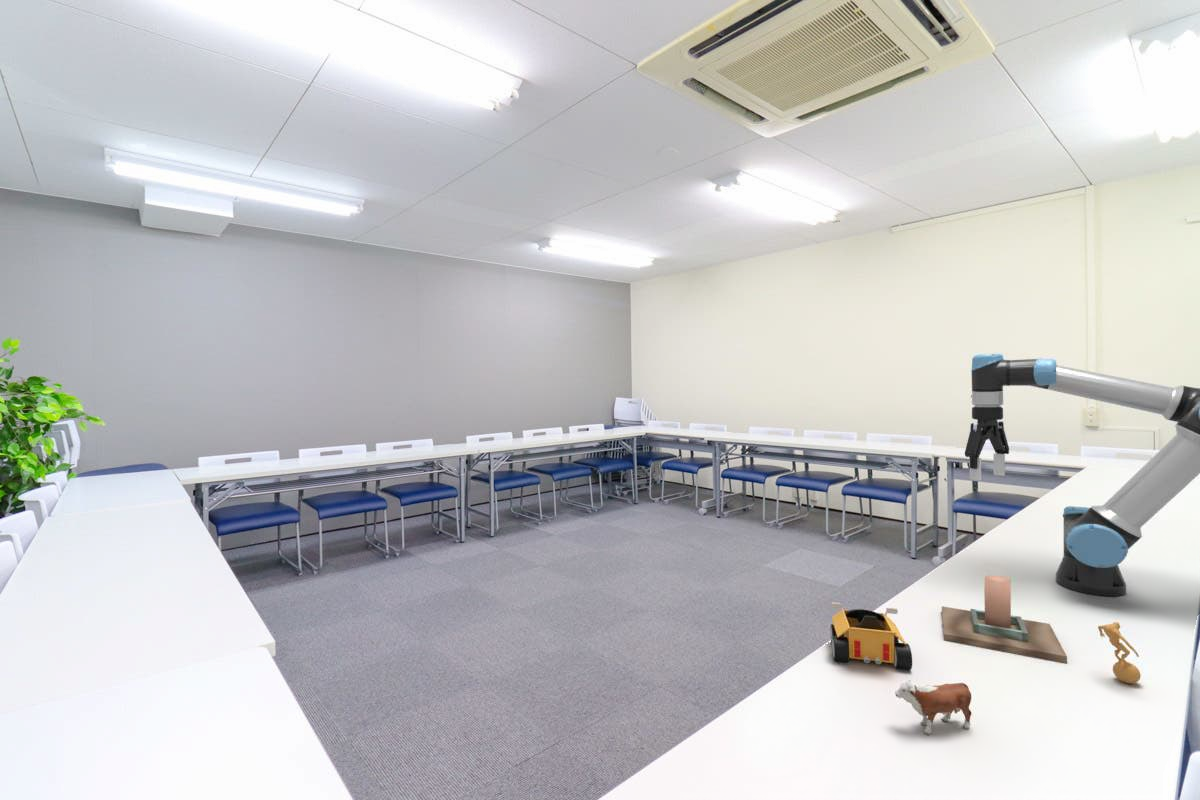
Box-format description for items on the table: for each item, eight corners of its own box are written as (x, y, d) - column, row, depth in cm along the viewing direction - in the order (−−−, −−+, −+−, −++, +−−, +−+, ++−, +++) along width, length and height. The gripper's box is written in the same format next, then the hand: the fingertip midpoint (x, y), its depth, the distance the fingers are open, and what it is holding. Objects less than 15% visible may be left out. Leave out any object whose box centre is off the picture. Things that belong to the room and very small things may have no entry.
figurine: (1156, 694, 102) (1157, 632, 102) (1122, 693, 103) (1122, 631, 103) (1118, 671, 111) (1119, 613, 110) (1087, 670, 111) (1087, 613, 111)
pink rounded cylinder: (1009, 626, 128) (1009, 576, 128) (1012, 635, 124) (1011, 583, 124) (983, 622, 131) (983, 573, 131) (985, 630, 127) (985, 580, 126)
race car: (896, 644, 124) (896, 599, 124) (914, 678, 110) (914, 627, 110) (827, 636, 129) (826, 593, 129) (835, 668, 114) (835, 619, 114)
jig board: (1049, 629, 129) (1049, 615, 129) (1067, 663, 114) (1067, 647, 114) (941, 611, 141) (941, 598, 141) (944, 640, 125) (944, 625, 125)
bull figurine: (891, 721, 96) (891, 676, 96) (962, 716, 97) (961, 671, 97) (907, 737, 91) (907, 690, 91) (981, 731, 92) (981, 685, 92)
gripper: (994, 404, 168) (994, 471, 169) (950, 407, 156) (950, 479, 157) (1022, 405, 162) (1022, 475, 162) (978, 407, 150) (979, 483, 150)
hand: (987, 477), depth 159 cm, fingers open, 13 cm apart
